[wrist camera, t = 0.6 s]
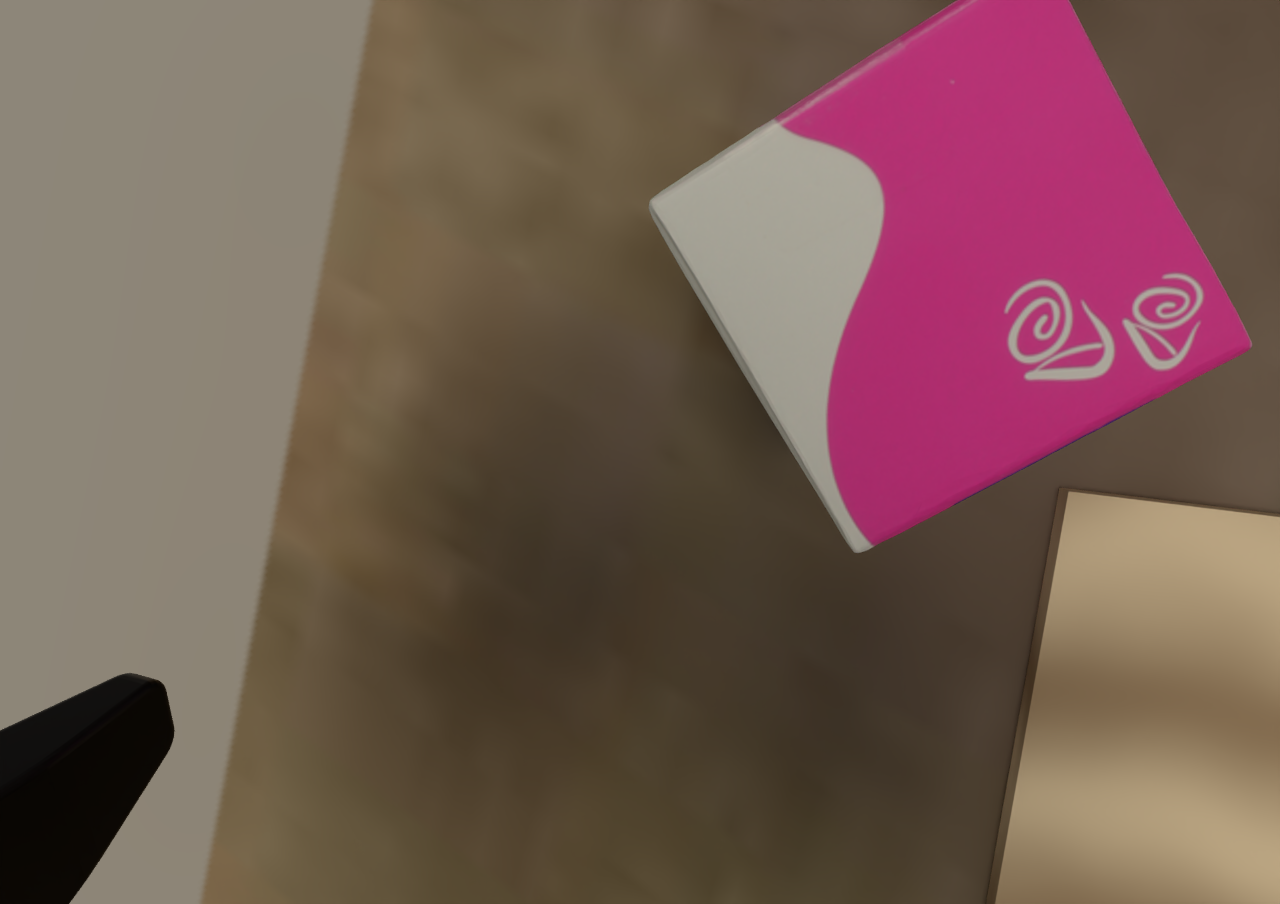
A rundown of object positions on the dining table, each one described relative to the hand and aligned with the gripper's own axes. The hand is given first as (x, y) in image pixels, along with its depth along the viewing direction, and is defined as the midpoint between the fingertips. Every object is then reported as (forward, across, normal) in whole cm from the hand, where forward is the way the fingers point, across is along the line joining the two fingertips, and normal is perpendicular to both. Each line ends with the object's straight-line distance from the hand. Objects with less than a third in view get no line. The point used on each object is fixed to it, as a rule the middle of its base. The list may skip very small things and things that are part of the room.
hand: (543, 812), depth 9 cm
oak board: (+13, -16, +7) cm, 22 cm away
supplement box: (+16, -3, -1) cm, 16 cm away
